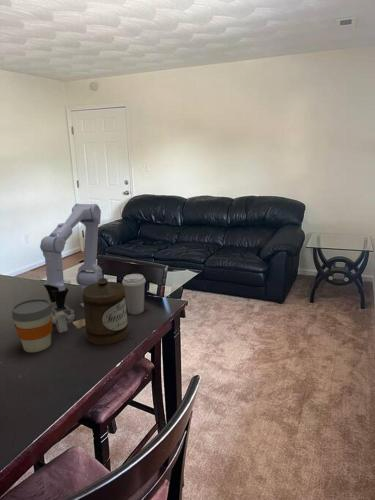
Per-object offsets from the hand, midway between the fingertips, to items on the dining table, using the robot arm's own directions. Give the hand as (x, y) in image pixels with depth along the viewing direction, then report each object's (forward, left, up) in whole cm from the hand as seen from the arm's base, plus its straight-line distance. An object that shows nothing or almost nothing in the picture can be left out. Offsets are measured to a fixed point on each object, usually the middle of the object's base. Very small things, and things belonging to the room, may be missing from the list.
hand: (57, 304), depth 136 cm
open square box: (-3, -7, -8) cm, 11 cm away
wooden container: (-12, +15, -11) cm, 22 cm away
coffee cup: (-30, +4, -11) cm, 32 cm away
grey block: (0, +1, -11) cm, 11 cm away
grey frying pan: (0, -8, -10) cm, 13 cm away
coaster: (-8, +1, -11) cm, 13 cm away
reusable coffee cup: (+10, +6, -11) cm, 16 cm away
